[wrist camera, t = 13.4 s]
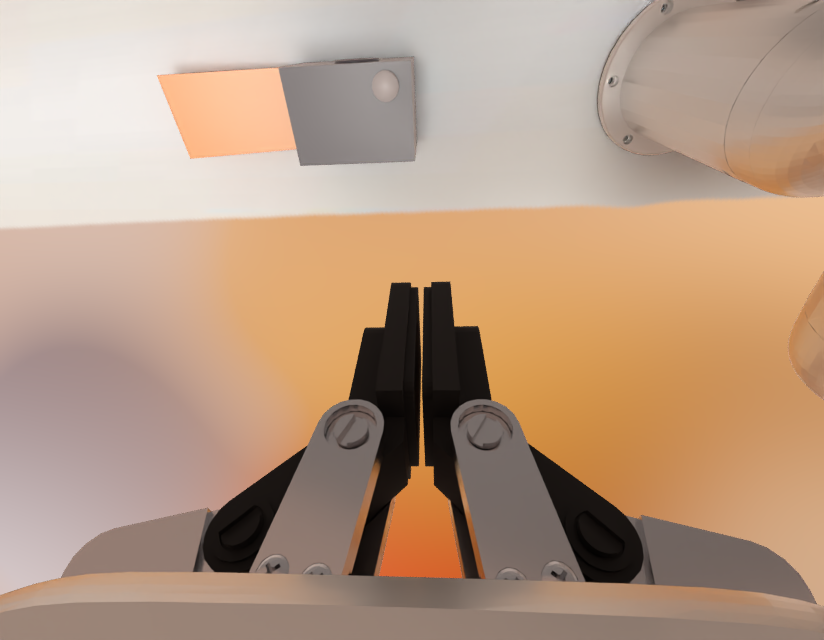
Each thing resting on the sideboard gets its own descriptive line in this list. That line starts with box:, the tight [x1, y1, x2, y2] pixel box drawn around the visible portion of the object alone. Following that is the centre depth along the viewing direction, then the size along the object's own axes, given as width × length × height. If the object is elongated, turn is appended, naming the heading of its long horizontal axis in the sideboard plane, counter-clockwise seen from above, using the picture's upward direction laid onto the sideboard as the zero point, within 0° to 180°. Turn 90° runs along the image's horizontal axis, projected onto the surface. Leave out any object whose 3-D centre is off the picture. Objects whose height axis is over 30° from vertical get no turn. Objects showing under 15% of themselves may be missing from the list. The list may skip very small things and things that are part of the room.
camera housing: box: [278, 57, 417, 166], centre depth 31 cm, size 10×7×8 cm
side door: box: [157, 67, 297, 159], centre depth 33 cm, size 1×7×12 cm
